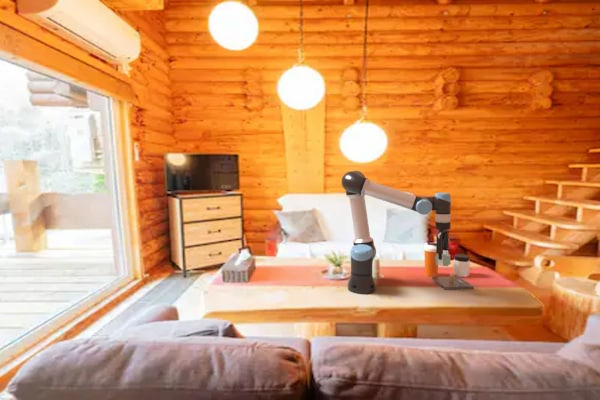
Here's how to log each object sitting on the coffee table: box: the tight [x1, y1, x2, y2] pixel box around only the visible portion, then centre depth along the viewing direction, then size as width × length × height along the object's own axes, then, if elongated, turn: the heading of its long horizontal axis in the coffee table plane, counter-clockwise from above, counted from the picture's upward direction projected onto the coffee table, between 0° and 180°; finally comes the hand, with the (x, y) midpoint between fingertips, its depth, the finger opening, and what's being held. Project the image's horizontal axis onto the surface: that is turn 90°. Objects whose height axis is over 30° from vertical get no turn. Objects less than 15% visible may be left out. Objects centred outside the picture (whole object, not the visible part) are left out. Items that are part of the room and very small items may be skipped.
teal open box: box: [435, 253, 452, 267], centre depth 176 cm, size 6×6×5 cm
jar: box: [452, 253, 471, 278], centre depth 198 cm, size 9×8×12 cm
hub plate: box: [431, 273, 474, 291], centre depth 183 cm, size 16×16×6 cm
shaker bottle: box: [423, 241, 439, 278], centre depth 198 cm, size 9×9×20 cm
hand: (442, 263), depth 176 cm, fingers closed on teal open box, 6 cm apart
